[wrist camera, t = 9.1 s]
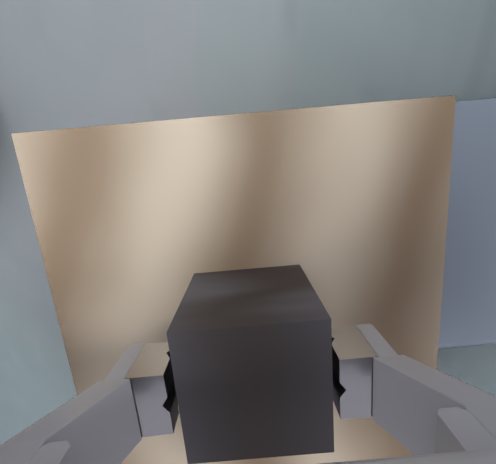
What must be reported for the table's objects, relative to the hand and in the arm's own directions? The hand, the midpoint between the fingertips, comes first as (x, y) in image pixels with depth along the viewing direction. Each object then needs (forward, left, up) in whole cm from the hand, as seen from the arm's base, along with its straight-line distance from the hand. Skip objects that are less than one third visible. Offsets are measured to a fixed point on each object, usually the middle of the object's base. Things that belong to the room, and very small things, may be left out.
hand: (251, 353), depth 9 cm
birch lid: (0, 0, -4) cm, 4 cm away
